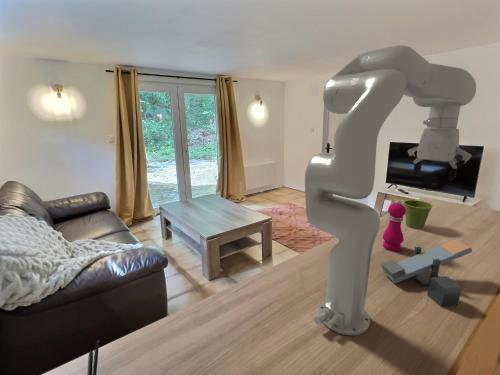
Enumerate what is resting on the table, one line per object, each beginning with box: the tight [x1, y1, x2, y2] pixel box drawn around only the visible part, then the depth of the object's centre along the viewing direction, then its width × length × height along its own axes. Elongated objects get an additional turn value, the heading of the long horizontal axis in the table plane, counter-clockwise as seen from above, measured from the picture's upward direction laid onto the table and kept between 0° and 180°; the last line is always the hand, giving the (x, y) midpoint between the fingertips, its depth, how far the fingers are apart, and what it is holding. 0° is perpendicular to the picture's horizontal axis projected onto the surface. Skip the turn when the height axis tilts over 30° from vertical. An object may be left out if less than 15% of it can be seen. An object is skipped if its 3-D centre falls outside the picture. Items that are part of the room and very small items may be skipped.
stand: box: [410, 246, 441, 288], centre depth 85 cm, size 8×10×8 cm
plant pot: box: [403, 199, 434, 230], centre depth 124 cm, size 12×12×11 cm
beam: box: [381, 239, 473, 284], centre depth 84 cm, size 26×6×4 cm, turn 96°
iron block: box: [427, 276, 463, 308], centre depth 75 cm, size 5×5×6 cm
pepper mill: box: [382, 199, 406, 252], centre depth 103 cm, size 7×7×20 cm
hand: (433, 177), depth 87 cm, fingers open, 9 cm apart
